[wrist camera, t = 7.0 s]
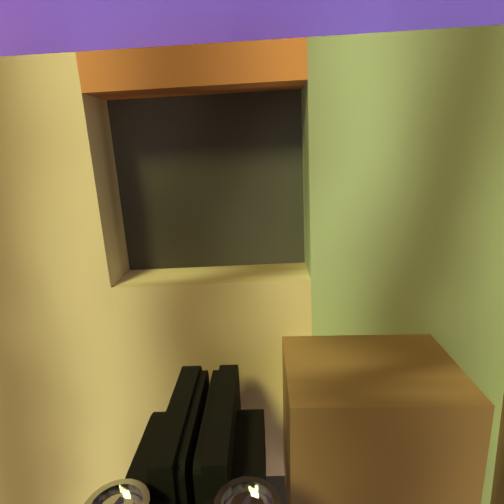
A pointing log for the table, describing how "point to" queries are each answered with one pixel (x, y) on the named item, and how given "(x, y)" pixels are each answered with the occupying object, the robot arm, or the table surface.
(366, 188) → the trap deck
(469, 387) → the walnut block
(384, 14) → the table surface
